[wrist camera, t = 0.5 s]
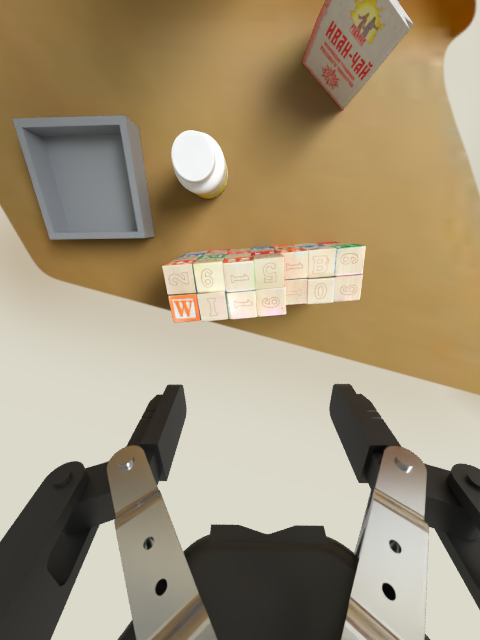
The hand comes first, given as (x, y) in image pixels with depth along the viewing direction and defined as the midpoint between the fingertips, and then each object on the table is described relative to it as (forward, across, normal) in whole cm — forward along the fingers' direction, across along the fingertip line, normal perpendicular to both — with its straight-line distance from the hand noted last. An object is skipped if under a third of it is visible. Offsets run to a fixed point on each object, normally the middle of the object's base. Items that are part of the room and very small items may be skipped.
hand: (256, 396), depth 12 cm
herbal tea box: (+26, -10, -24) cm, 36 cm away
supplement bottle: (+26, +5, -14) cm, 30 cm away
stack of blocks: (+26, -2, -2) cm, 26 cm away
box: (+25, +20, -13) cm, 35 cm away
